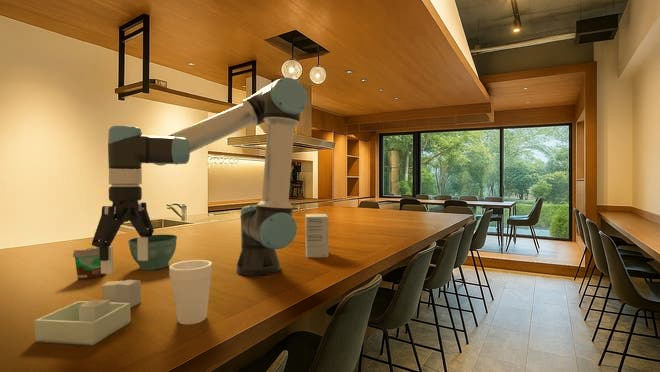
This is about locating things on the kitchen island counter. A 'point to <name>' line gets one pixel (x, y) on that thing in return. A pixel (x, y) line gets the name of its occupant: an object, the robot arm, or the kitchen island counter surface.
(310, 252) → the supplement box
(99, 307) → the stone
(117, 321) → the bin
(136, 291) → the stone
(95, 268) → the food container
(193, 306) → the foam cup
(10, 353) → the kitchen island counter surface
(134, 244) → the flower pot
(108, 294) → the stone
